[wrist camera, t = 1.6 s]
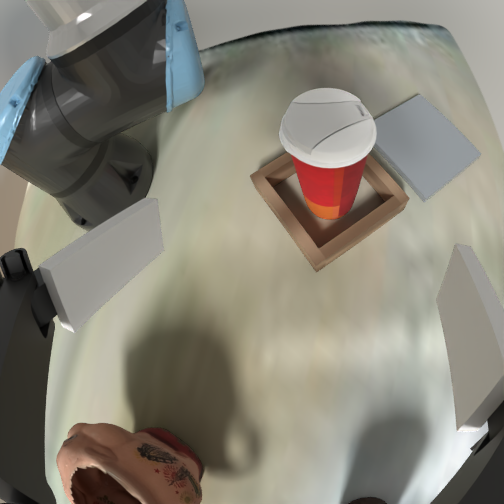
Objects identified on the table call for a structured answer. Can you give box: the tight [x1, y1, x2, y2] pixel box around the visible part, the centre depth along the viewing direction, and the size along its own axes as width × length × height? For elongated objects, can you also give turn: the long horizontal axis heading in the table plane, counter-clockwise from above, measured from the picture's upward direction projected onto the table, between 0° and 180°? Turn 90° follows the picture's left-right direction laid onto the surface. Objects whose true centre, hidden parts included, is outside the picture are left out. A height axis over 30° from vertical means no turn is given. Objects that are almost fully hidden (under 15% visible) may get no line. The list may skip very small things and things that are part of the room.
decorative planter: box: [56, 423, 203, 504], centre depth 23 cm, size 20×12×14 cm, turn 62°
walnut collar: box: [250, 152, 409, 272], centre depth 33 cm, size 12×12×3 cm
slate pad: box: [374, 94, 481, 202], centre depth 33 cm, size 12×12×1 cm
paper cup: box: [279, 88, 377, 220], centre depth 28 cm, size 8×8×14 cm
